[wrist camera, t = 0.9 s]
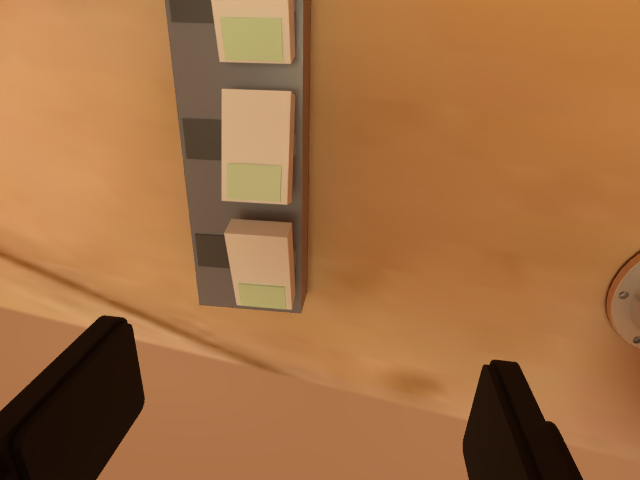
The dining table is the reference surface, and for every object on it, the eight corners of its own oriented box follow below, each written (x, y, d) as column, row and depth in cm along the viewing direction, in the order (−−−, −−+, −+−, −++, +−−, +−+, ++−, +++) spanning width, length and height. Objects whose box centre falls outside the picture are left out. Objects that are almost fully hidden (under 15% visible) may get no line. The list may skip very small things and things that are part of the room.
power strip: (314, -246, 26) (303, -304, 22) (307, 291, 43) (300, 317, 39) (163, -241, 27) (125, -295, 23) (213, 284, 44) (196, 308, 40)
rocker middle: (295, 95, 31) (290, 90, 29) (291, 202, 32) (286, 205, 30) (230, 93, 31) (220, 88, 29) (229, 198, 33) (220, 200, 31)
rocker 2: (291, 222, 33) (286, 239, 31) (295, 293, 38) (291, 311, 36) (231, 218, 34) (223, 234, 32) (242, 289, 39) (236, 306, 37)
